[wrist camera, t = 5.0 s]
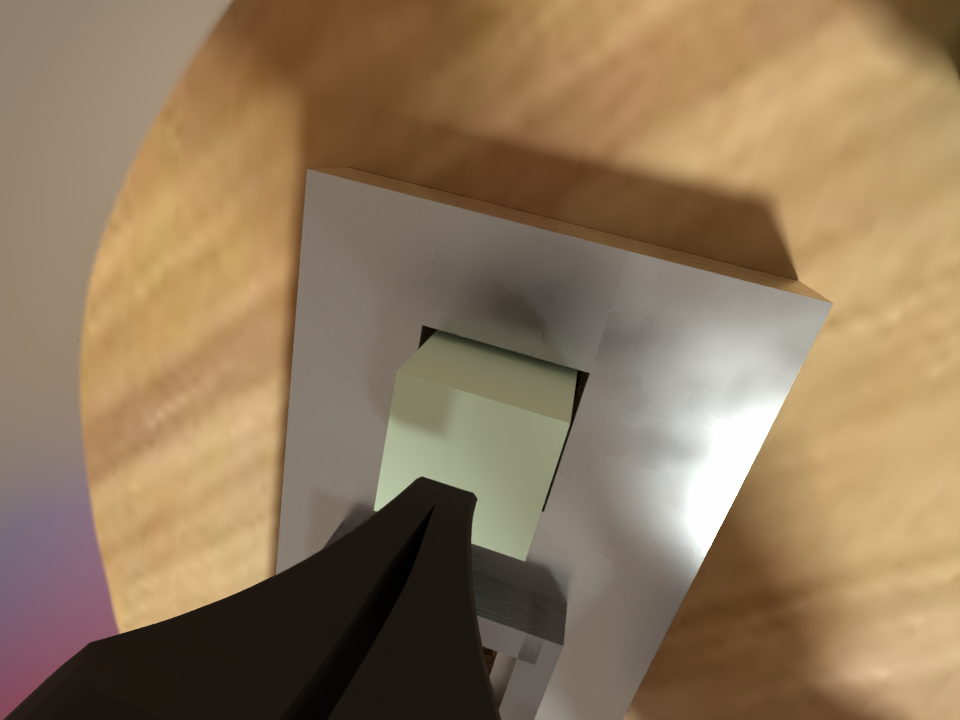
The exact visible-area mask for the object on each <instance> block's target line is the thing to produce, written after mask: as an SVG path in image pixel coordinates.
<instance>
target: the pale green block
mask: <svg viewBox="0 0 960 720" xmlns="http://www.w3.org/2000/svg"><path fill="white" fill-rule="evenodd" d="M577 371H578V370H577V369H574V368H570V367H567V366H563V365H560V364H556V363H553V362H549V361H546V360H542V359H539V358H535V357H532V356H528V355H525V354H521V353H518V352H514V351H511V350H507V349H504V348H500V347H497V346H493V345H490V344H487V343H483V342H480V341H476V340H473V339H469V338H466V337H462V336H459V335H455V334H452V333H448V332H445V331H441V330H437V331H436V332H435V333H434V334H433V335H432V336H431V337H430V338H429V339H428V340H427V341H426V342H425V343H424V344H423V345H422V346H421V347H420V348H419V349H418V350H417V351H416V352H415V353H414V354H413V355H412V356H411V357H410V358H409V359H408V361H407V362H406V363H405V364H404V365H403V366H402V367H401V368H400V369H399V370H398V371H397V374H396V380H395V386H394V392H393V398H392V404H391V410H390V416H389V422H388V428H387V434H386V440H385V446H384V452H383V458H382V464H381V470H380V476H379V482H378V488H377V494H376V500H375V506H374V511H379V510H380V509H381V508H383V507H384V506H385V505H386V504H388V503H389V502H390V501H391V500H393V499H394V498H395V497H396V496H397V495H399V494H400V493H401V492H402V491H403V490H404V489H406V488H407V487H408V486H409V485H410V484H411V483H412V482H413V481H414V480H415V479H417V478H419V477H421V476H423V477H426V478H429V479H432V480H435V481H438V482H441V483H444V484H447V485H450V486H454V487H457V488H460V489H463V490H466V491H469V492H472V493H474V494H475V496H476V497H477V503H476V507H475V511H474V514H473V522H472V537H471V543H472V544H475V545H478V546H481V547H484V548H487V549H490V550H493V551H496V552H499V553H502V554H505V555H508V556H511V557H514V558H516V559H519V560H522V561H525V560H526V557H527V554H528V551H529V548H530V545H531V542H532V539H533V536H534V533H535V530H536V526H537V523H538V520H539V517H540V514H541V511H542V508H543V505H544V502H545V499H546V496H547V493H548V490H549V487H550V484H551V481H552V478H553V475H554V472H555V468H556V465H557V462H558V459H559V456H560V453H561V450H562V447H563V444H564V441H565V438H566V435H567V432H568V429H569V426H570V422H571V414H572V407H573V400H574V393H575V386H576V378H577Z"/></svg>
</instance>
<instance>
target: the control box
mask: <svg viewBox="0 0 960 720" xmlns="http://www.w3.org/2000/svg"><path fill="white" fill-rule="evenodd" d="M832 305H833V303H832V302H831V301H829V300H827V299H826V298H824V297H823V296H821V295H820V294H818V293H817V292H815V291H814V290H812V289H811V288H809V287H808V286H806V285H804V284H803V283H801V282H800V281H797V280H793V279H789V278H785V277H781V276H777V275H773V274H769V273H765V272H761V271H757V270H753V269H749V268H745V267H741V266H737V265H733V264H729V263H725V262H721V261H717V260H714V259H710V258H706V257H702V256H698V255H694V254H690V253H686V252H682V251H678V250H674V249H670V248H666V247H662V246H658V245H654V244H650V243H646V242H642V241H638V240H634V239H630V238H626V237H622V236H618V235H615V234H611V233H607V232H603V231H599V230H595V229H591V228H587V227H583V226H579V225H575V224H571V223H567V222H563V221H559V220H555V219H551V218H547V217H543V216H539V215H535V214H531V213H527V212H523V211H519V210H515V209H512V208H508V207H504V206H500V205H496V204H492V203H488V202H484V201H480V200H476V199H472V198H468V197H464V196H460V195H456V194H452V193H448V192H444V191H440V190H436V189H432V188H428V187H424V186H420V185H416V184H412V183H409V182H405V181H401V180H397V179H393V178H389V177H385V176H381V175H377V174H373V173H369V172H365V171H361V170H357V169H353V168H349V167H339V168H315V169H307V174H306V187H305V200H304V213H303V226H302V239H301V252H300V265H299V279H298V292H297V305H296V318H295V331H294V344H293V357H292V370H291V383H290V396H289V409H288V422H287V435H286V448H285V461H284V474H283V487H282V500H281V513H280V526H279V539H278V552H277V565H276V575H277V574H279V573H281V572H283V571H285V570H286V569H288V568H290V567H292V566H294V565H296V564H298V563H299V562H301V561H303V560H305V559H307V558H308V557H310V556H312V555H313V554H315V553H317V552H318V551H320V550H322V549H323V548H325V547H327V546H328V545H330V544H331V543H333V542H334V541H336V540H337V539H339V538H340V537H342V536H343V535H345V534H346V533H348V532H350V531H351V530H353V529H354V528H355V527H357V526H358V525H360V524H361V523H362V522H364V521H365V520H366V519H368V518H369V517H370V516H372V515H373V514H375V513H376V512H377V511H374V506H375V500H376V494H377V488H378V482H379V476H380V470H381V464H382V458H383V452H384V446H385V440H386V434H387V428H388V422H389V416H390V410H391V404H392V398H393V392H394V386H395V380H396V374H397V371H398V370H399V369H400V368H401V367H402V366H403V365H404V364H405V363H406V362H407V361H408V359H409V358H410V357H411V356H412V355H413V354H414V353H415V352H416V351H417V350H418V349H419V348H420V347H421V346H422V345H423V344H424V343H425V342H426V341H427V340H428V339H429V338H430V337H431V336H432V335H433V334H434V333H435V332H436V331H437V330H441V331H445V332H448V333H452V334H455V335H459V336H462V337H466V338H469V339H473V340H476V341H480V342H483V343H487V344H490V345H493V346H497V347H500V348H504V349H507V350H511V351H514V352H518V353H521V354H525V355H528V356H532V357H535V358H539V359H542V360H546V361H549V362H553V363H556V364H560V365H563V366H567V367H570V368H574V369H577V370H581V371H583V374H582V377H581V380H580V383H579V386H578V389H577V392H576V396H575V399H574V402H573V407H572V414H571V422H570V426H569V429H568V432H567V435H566V438H565V441H564V444H563V447H562V450H561V453H560V456H559V459H558V462H557V465H556V468H555V472H554V475H553V478H552V481H551V484H550V487H549V490H548V493H547V496H546V499H545V502H544V505H543V508H542V511H541V514H540V517H539V520H538V523H537V526H536V530H535V533H534V536H533V539H532V542H531V545H530V548H529V551H528V554H527V557H526V560H525V561H522V560H519V559H516V558H514V557H511V556H508V555H505V554H502V553H499V552H496V551H493V550H490V549H487V548H484V547H481V546H478V545H475V544H472V543H471V552H472V575H473V587H474V596H475V605H476V612H477V619H478V625H479V631H480V636H481V641H482V646H483V647H486V648H489V649H492V650H493V652H492V655H488V654H485V653H484V656H485V660H486V665H487V669H488V674H489V677H490V681H491V685H492V688H493V692H494V695H495V699H496V702H497V706H498V710H499V713H500V717H501V720H623V718H624V716H625V714H626V712H627V710H628V708H629V706H630V704H631V702H632V700H633V698H634V696H635V694H636V692H637V690H638V688H639V686H640V684H641V682H642V680H643V678H644V676H645V674H646V672H647V670H648V668H649V666H650V664H651V662H652V660H653V658H654V656H655V655H656V653H657V651H658V649H659V647H660V645H661V643H662V641H663V639H664V637H665V635H666V633H667V631H668V629H669V627H670V625H671V623H672V621H673V619H674V617H675V615H676V613H677V611H678V609H679V607H680V605H681V603H682V601H683V599H684V597H685V595H686V593H687V591H688V589H689V587H690V585H691V583H692V582H693V580H694V578H695V576H696V574H697V572H698V570H699V568H700V566H701V564H702V562H703V560H704V558H705V556H706V554H707V552H708V550H709V548H710V546H711V544H712V542H713V540H714V538H715V536H716V534H717V532H718V530H719V528H720V526H721V524H722V522H723V520H724V518H725V516H726V514H727V512H728V511H729V509H730V507H731V505H732V503H733V501H734V499H735V497H736V495H737V493H738V491H739V489H740V487H741V485H742V483H743V481H744V479H745V477H746V475H747V473H748V471H749V469H750V467H751V465H752V463H753V461H754V459H755V457H756V455H757V453H758V451H759V449H760V447H761V445H762V443H763V441H764V440H765V438H766V436H767V434H768V432H769V430H770V428H771V426H772V424H773V422H774V420H775V418H776V416H777V414H778V412H779V410H780V408H781V406H782V404H783V402H784V400H785V398H786V396H787V394H788V392H789V390H790V388H791V386H792V384H793V382H794V380H795V378H796V376H797V374H798V372H799V370H800V369H801V367H802V365H803V363H804V361H805V359H806V357H807V355H808V353H809V351H810V349H811V347H812V345H813V343H814V341H815V339H816V337H817V335H818V333H819V331H820V329H821V327H822V325H823V323H824V321H825V319H826V317H827V315H828V313H829V311H830V309H831V307H832Z"/></svg>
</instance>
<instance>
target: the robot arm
mask: <svg viewBox="0 0 960 720" xmlns="http://www.w3.org/2000/svg"><path fill="white" fill-rule="evenodd" d="M476 503H477V497H476V496H475V494H474V493H472V492H469V491H466V490H463V489H460V488H457V487H454V486H450V485H447V484H444V483H441V482H438V481H435V480H432V479H429V478H426V477H423V476H421V477H419V478H417V479H415V480H414V481H413V482H412V483H411V484H410V485H409V486H408V487H407V488H406V489H404V490H403V491H402V492H401V493H400V494H399V495H397V496H396V497H395V498H394V499H393V500H391V501H390V502H389V503H388V504H386V505H385V506H384V507H383V508H381V509H380V510H379V511H377V512H376V513H375V514H373V515H372V516H370V517H369V518H368V519H366V520H365V521H364V522H362V523H361V524H360V525H358V526H357V527H355V528H354V529H353V530H351V531H350V532H348V533H346V534H345V535H343V536H342V537H340V538H339V539H337V540H336V541H334V542H333V543H331V544H330V545H328V546H327V547H325V548H323V549H322V550H320V551H318V552H317V553H315V554H313V555H312V556H310V557H308V558H307V559H305V560H303V561H301V562H299V563H298V564H296V565H294V566H292V567H290V568H288V569H286V570H285V571H283V572H281V573H279V574H277V575H275V576H273V577H270V578H268V579H266V580H264V581H262V582H260V583H258V584H256V585H254V586H252V587H250V588H247V589H245V590H243V591H241V592H238V593H236V594H234V595H231V596H229V597H227V598H224V599H222V600H219V601H216V602H214V603H211V604H209V605H206V606H203V607H201V608H198V609H196V610H193V611H190V612H188V613H185V614H183V615H180V616H177V617H174V618H171V619H168V620H165V621H162V622H159V623H156V624H152V625H149V626H146V627H142V628H139V629H136V630H132V631H129V632H125V633H122V634H119V635H115V636H112V637H108V638H105V639H102V640H98V641H94V642H90V643H89V644H88V645H86V646H85V647H84V648H83V649H82V650H81V651H79V652H78V653H77V654H76V655H74V656H73V657H72V658H71V659H70V660H68V661H67V662H65V663H64V664H63V665H62V666H61V667H60V668H58V669H57V670H56V671H55V672H54V673H53V674H52V675H51V676H50V677H48V678H47V679H46V680H45V681H44V682H43V683H42V684H41V685H40V686H39V687H38V688H37V689H36V690H34V691H33V692H32V693H31V694H30V695H29V696H28V697H27V698H26V699H25V700H24V701H23V702H22V703H21V704H20V705H19V706H18V707H16V708H15V710H13V711H12V712H11V713H10V714H9V715H8V716H7V717H6V718H5V719H4V720H501V717H500V713H499V710H498V706H497V702H496V699H495V695H494V692H493V688H492V685H491V681H490V677H489V674H488V669H487V665H486V660H485V656H484V651H483V647H482V641H481V636H480V631H479V625H478V619H477V612H476V605H475V596H474V587H473V575H472V552H471V537H472V522H473V514H474V511H475V507H476Z"/></svg>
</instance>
